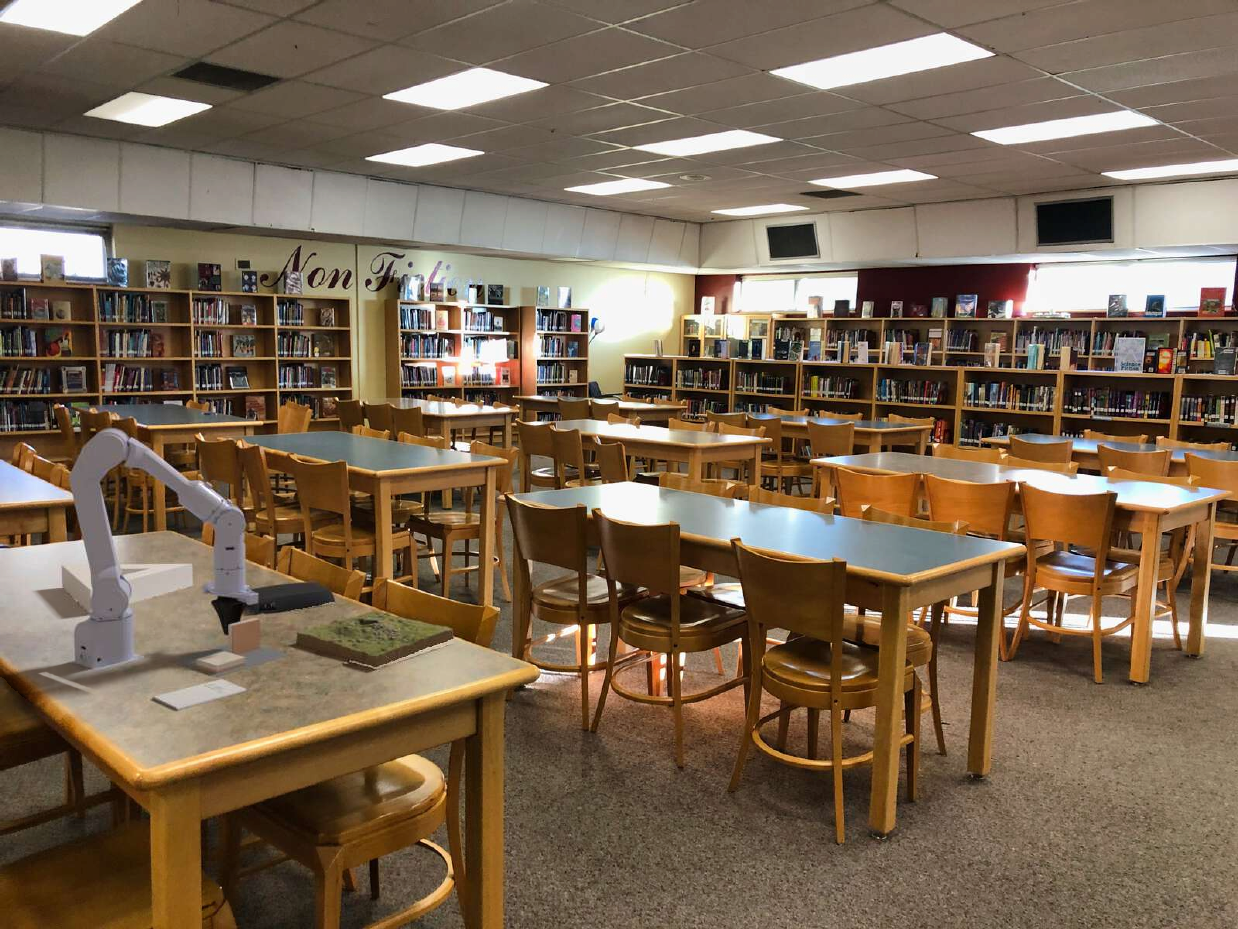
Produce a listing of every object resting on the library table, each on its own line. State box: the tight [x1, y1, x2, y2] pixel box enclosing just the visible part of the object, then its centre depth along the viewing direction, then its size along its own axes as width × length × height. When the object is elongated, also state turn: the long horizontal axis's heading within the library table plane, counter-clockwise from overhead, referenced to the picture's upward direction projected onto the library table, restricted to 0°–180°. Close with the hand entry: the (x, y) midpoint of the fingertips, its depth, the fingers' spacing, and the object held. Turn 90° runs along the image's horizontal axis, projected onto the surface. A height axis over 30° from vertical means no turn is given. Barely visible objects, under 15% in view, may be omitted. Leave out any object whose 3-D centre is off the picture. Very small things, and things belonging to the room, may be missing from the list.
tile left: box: [197, 651, 245, 673], centre depth 173 cm, size 6×2×6 cm
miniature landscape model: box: [295, 610, 455, 667], centre depth 191 cm, size 22×24×5 cm
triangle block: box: [61, 563, 194, 615], centre depth 224 cm, size 30×26×6 cm
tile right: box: [228, 617, 261, 655], centre depth 181 cm, size 6×2×6 cm, turn 149°
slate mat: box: [168, 643, 291, 678], centre depth 178 cm, size 16×15×1 cm
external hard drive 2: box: [245, 581, 336, 616], centre depth 219 cm, size 13×19×4 cm
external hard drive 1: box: [151, 678, 248, 712], centre depth 158 cm, size 2×8×12 cm
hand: (230, 633), depth 183 cm, fingers closed
